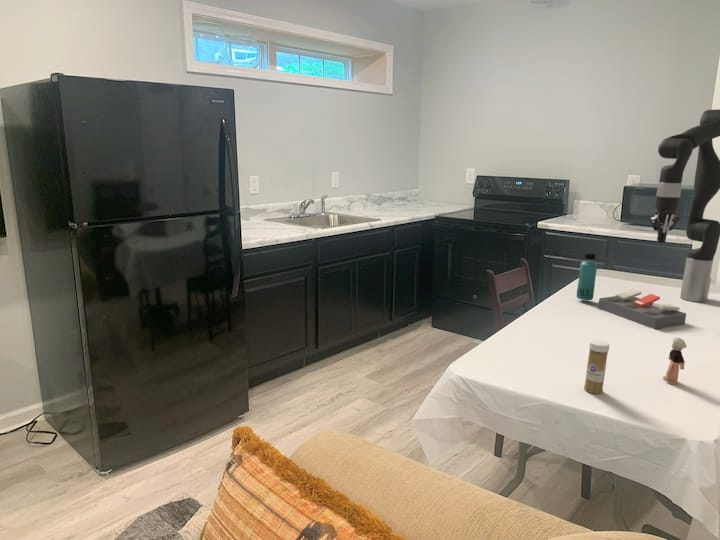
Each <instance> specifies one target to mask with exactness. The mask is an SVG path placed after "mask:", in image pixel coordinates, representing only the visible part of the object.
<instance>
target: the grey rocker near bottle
mask: <svg viewBox="0 0 720 540" xmlns="http://www.w3.org/2000/svg"><path fill="white" fill-rule="evenodd" d="M640 295H642V291H639V290H637V289H633V288H632V289H630V290H627V291H623V292H620V293H618V294H615V295H614V296H615V298H618V299H621V300H627V299H633V298H634V297H638V296H640Z"/></svg>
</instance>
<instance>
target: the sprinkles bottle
mask: <svg viewBox="0 0 720 540" xmlns="http://www.w3.org/2000/svg"><path fill="white" fill-rule="evenodd" d="M588 348H589V353H588V358H587V366H586V371H585V382H584V387H583V388H584V390H585V391H586V392H588V393H591V394H593V395H598V394H602V393H603V388H604V381H605V375H606V369H607V358H608V353H609V351H610V343H609V342H607V341H605V340H602V339H592V340H590V341H589V347H588Z"/></svg>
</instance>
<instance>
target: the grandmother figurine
mask: <svg viewBox="0 0 720 540" xmlns="http://www.w3.org/2000/svg"><path fill="white" fill-rule="evenodd" d="M687 347H688V346H687V343H686V342H685V340H684V339H682V338H681V337H673V339H672V344H671V348H672V349H671V350H670V351H669V354H668V355H669V356H668V360H669V361H670V362H669V364H668V367H667V369H666V372H665V376H663V377H662V378H663V380H665V381H667V383H668V384H669V385H671V384H672V385H671V386H677V385H679V384H680V382H679V381H678V379H679V373H680V370H685V363H686V361H685V359H684V356H683V353H682V350H683V349H686V348H687Z"/></svg>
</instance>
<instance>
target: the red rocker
mask: <svg viewBox="0 0 720 540" xmlns="http://www.w3.org/2000/svg"><path fill="white" fill-rule="evenodd" d="M659 300H661V297H660V296H658V295H656V294H653V293H649V294H647V295H645V296H642V297H641V298H640V299H638V300H636V301H634V302H633V305H636V306H639V307H644V306H646V305H651V304H652V303H656V302H657V301H659Z"/></svg>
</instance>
